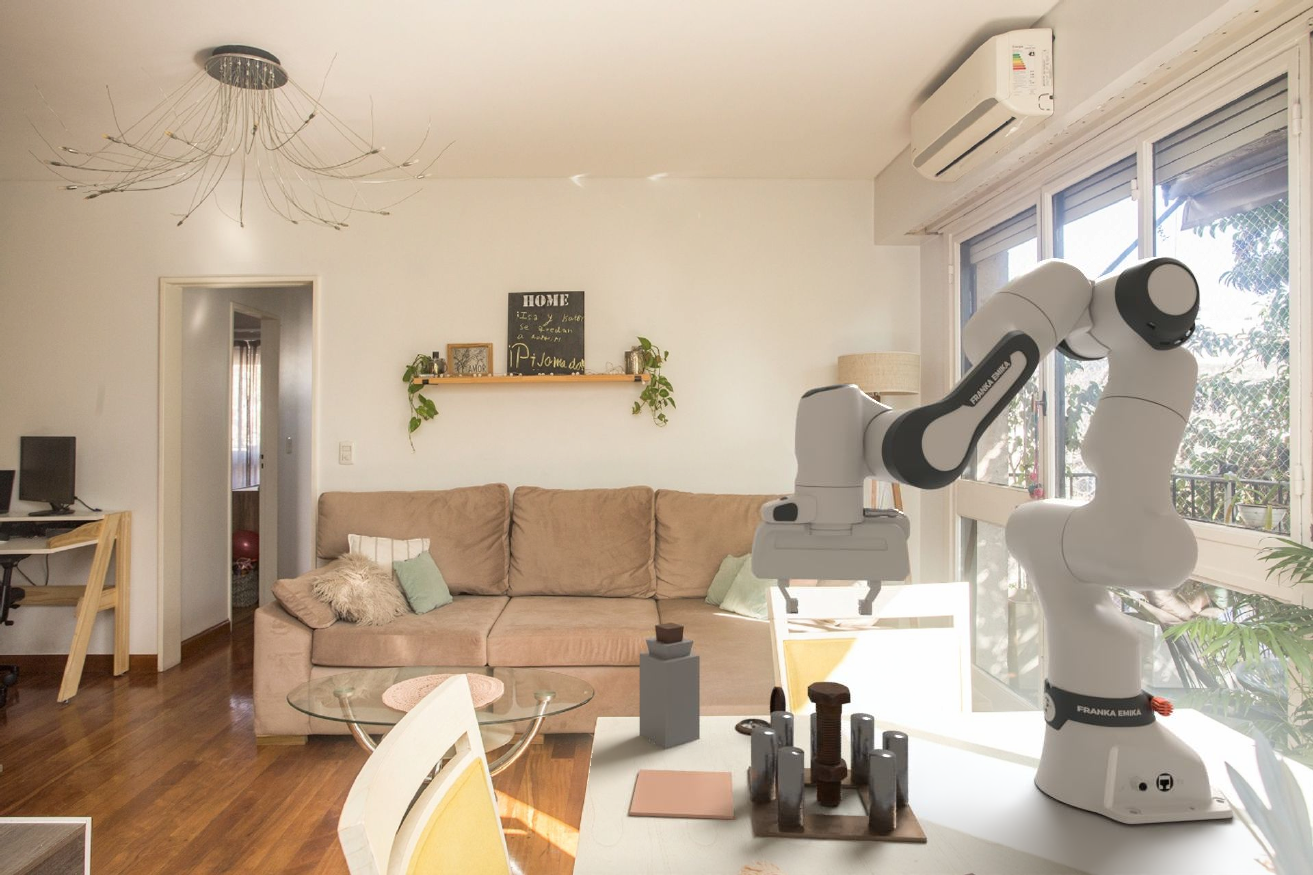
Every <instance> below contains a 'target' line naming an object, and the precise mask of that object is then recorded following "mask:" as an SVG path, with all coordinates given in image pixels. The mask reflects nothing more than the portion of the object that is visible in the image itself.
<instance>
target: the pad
mask: <svg viewBox="0 0 1313 875" xmlns="http://www.w3.org/2000/svg"><path fill="white" fill-rule="evenodd" d="M733 796H734V794H733V777H732V772H730V771H700V770H698V771H697V770H672V769H671V770H669V769H667V770H666V769H663V770H662V769H639V771H638V776H637V780H636V783H635V788H634V793H633V798H632V801H631V806H630V809H629V810H630V811H629V816H634V817H635V816H637V817H638V816H641V817H642V816H643V817H666V818H667V817H669V818H696V819H697V818H698V819H719V820H721V819H724V820H734V797H733Z"/></svg>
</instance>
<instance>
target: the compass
mask: <svg viewBox="0 0 1313 875" xmlns="http://www.w3.org/2000/svg"><path fill="white" fill-rule="evenodd" d="M786 699H787V698H786V695H785V691H784V689H783V688H782V687H781V686H773V688H772V690H771V693H770V698H769V716H770V717H771V713H772V712H775V711H786V710H787V708H786V707H787V701H786ZM786 712H787V711H786ZM744 724H747V725H745V726H744ZM750 726H752V728H749V727H750ZM756 726H758V727H767V728H771V723H769V722H768V721H767V720H764V719H759V718H745V719H743V720H740V721H739V722H738V723H736V724H735V726H734V727H735V728H734V730H736V731H737V733H740V734H742V735H746V736H749V737H751V730H752V729H753V728H756Z"/></svg>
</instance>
